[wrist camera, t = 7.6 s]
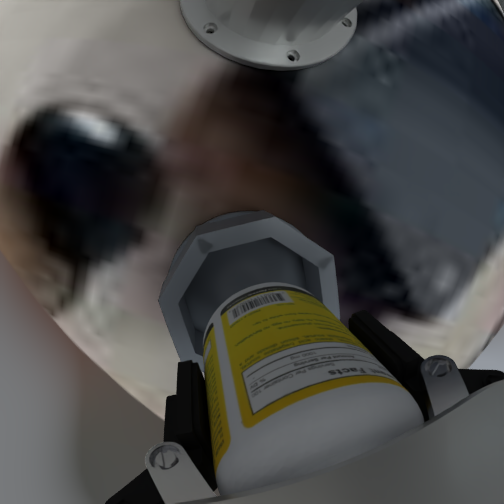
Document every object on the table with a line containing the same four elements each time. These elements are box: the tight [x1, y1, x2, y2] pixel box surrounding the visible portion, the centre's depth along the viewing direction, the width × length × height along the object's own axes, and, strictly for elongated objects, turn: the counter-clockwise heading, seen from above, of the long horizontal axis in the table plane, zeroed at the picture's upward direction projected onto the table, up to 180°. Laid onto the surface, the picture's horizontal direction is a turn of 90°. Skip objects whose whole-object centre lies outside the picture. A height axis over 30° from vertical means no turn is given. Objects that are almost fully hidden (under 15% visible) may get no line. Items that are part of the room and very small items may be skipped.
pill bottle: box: [203, 282, 424, 496], centre depth 9 cm, size 6×6×11 cm
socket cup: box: [158, 210, 340, 372], centre depth 19 cm, size 10×10×4 cm
